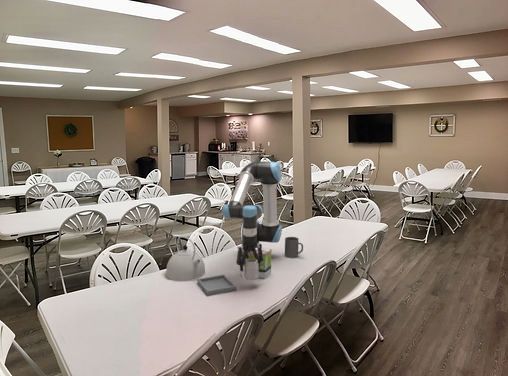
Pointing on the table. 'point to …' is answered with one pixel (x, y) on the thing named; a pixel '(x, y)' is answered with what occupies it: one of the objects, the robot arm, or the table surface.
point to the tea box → (262, 262)
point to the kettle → (185, 264)
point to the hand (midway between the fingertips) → (249, 275)
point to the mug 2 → (292, 247)
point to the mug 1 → (251, 269)
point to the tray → (216, 285)
